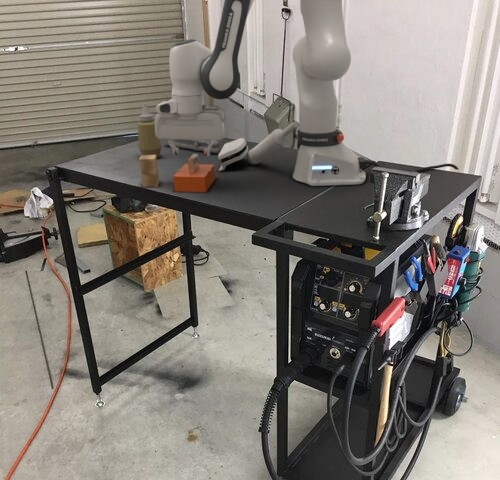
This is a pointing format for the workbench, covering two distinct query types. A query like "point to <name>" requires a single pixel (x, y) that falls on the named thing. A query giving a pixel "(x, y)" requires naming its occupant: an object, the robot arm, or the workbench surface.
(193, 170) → the tan rectangular block
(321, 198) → the workbench surface
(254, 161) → the bottle
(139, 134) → the squeeze bottle
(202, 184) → the orange box
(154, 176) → the workpiece
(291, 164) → the workbench surface
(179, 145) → the metal rod assembly
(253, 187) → the workbench surface
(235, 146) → the white rounded block
